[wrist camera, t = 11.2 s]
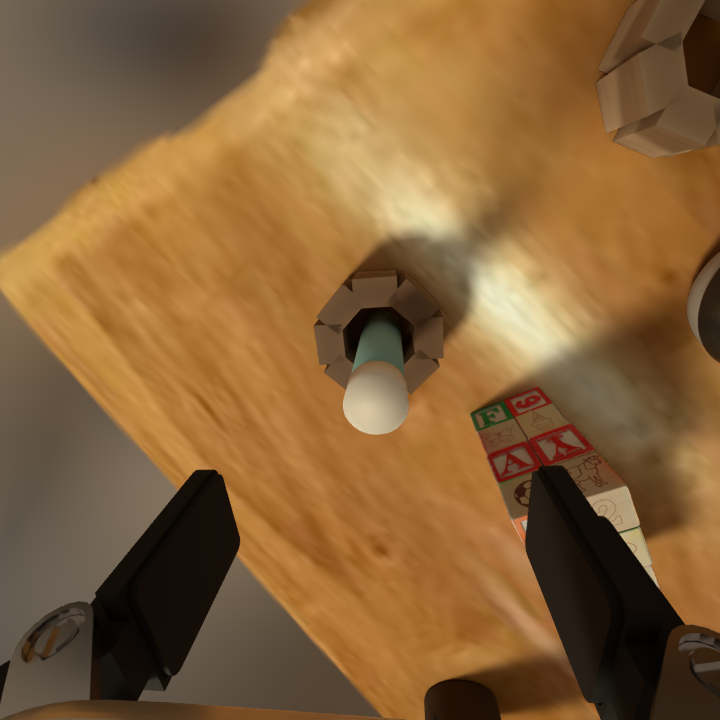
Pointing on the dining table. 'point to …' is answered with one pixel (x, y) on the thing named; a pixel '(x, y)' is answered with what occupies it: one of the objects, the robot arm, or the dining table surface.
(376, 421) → the teal cylinder white end
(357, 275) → the bead
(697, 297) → the black tapered dome
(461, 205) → the dining table surface
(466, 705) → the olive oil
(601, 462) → the stack of blocks
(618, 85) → the bead
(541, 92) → the dining table surface
